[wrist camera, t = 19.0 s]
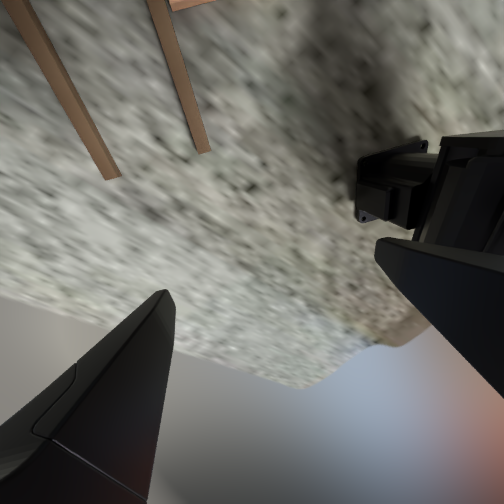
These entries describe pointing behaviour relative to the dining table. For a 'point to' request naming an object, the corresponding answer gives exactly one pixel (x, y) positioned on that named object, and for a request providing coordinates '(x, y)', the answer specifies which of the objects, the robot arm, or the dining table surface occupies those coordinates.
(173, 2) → the tile
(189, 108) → the chute
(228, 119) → the dining table surface
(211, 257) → the dining table surface
